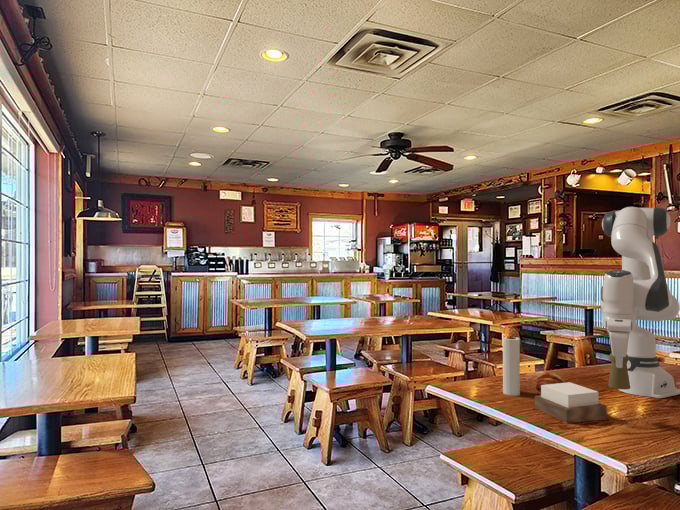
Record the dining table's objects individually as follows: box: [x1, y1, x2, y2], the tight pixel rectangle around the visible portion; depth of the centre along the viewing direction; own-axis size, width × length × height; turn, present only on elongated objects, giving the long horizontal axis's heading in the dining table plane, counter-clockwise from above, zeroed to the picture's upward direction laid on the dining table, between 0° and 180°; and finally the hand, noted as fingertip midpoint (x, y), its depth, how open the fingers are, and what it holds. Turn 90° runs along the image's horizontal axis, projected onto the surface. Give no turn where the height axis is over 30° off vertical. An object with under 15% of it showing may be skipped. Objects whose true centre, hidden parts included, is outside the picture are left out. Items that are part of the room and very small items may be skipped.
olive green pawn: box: [608, 351, 630, 390], centre depth 147 cm, size 6×6×11 cm
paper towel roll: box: [502, 336, 521, 397], centre depth 174 cm, size 7×6×21 cm
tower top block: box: [540, 381, 600, 408], centre depth 152 cm, size 12×12×4 cm
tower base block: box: [534, 394, 608, 424], centre depth 152 cm, size 15×15×5 cm
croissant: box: [535, 372, 566, 393], centre depth 178 cm, size 21×10×8 cm
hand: (619, 365), depth 147 cm, fingers closed on olive green pawn, 5 cm apart
